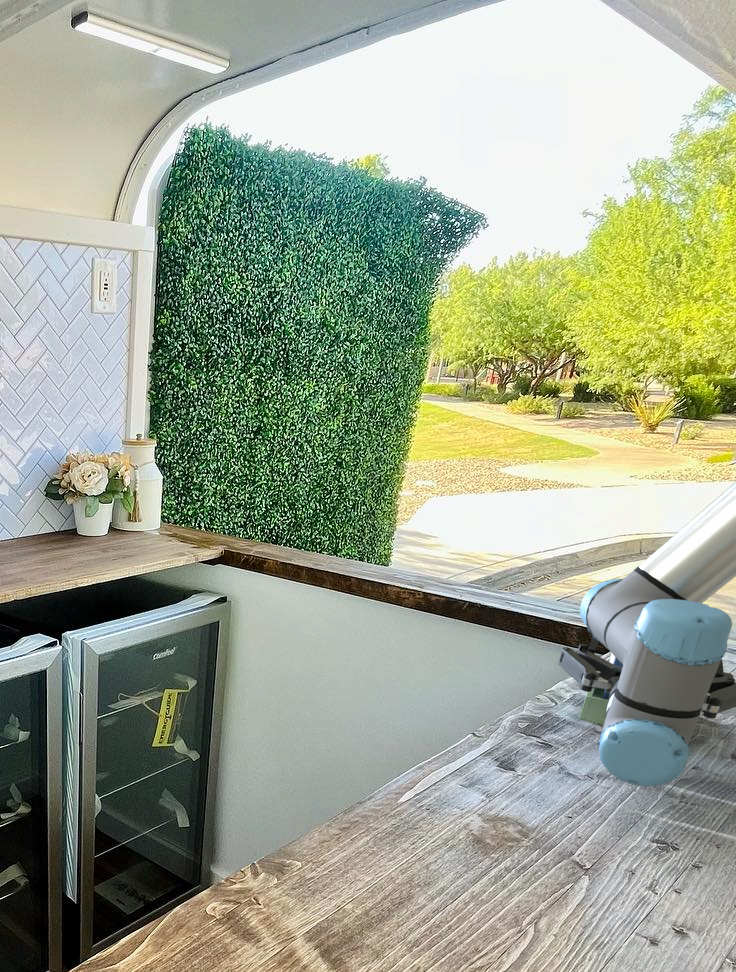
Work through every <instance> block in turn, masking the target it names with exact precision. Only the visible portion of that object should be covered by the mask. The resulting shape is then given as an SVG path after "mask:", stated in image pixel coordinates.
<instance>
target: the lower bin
mask: <svg viewBox="0 0 736 972" xmlns="http://www.w3.org/2000/svg"><path fill="white" fill-rule="evenodd" d="M604 690H605V689H602V688H597V687H596V689H592V691H590V692H586V694H585V698H584V702H583V704H582V708H581V711H580V714H579V717H578V718H579V720H582V721H588V722H591V723H595V724H599V725H603V726H604V722H605V716H606V710H607V706H608V701H609V700H607V699H603V698H602V696H603V693H604Z"/></svg>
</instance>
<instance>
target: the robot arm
mask: <svg viewBox="0 0 736 972" xmlns="http://www.w3.org/2000/svg"><path fill="white" fill-rule="evenodd" d="M734 578H736V481H735V482H734V483H732V484H731V485H730V486H729V487H728V488H727V489H726V490H724V491H723V492H722V493H721V494H720V495H719V496H717V497H716V498H715V499H714V500H713V501H712V502H710V503H709V504H708V505H707V506H706V507H705V508H703V509H702V510H701V511H700V512H698V514H696V515H695V516H694V517H693V518H692V519H691V520H690V521H688V522H687V523H686V524H685V525H684V526H683V527H681V529H679V530H678V531H677V532H676V533H675V534H674V535H673V536H671V537H670V538H669V539H668V540H667V541H665V542H664V543H663V544H662V545H661V546H660V547H658V548H657V550H655V551H654V552H652V554H651V555H649V556H648V557H647V558H646V559H645V560H643V561H642V562H641V563H640V564H639V565H638V566H637V567H635V568H634V569H633V570H632V571H631V572H630V573H628V574H627V575H626V576H625V577H624V578H613V579H608V580H604V581H602V582H600V583H597V584H596V585H594V586H593V587H591V588H590V589H589V590H588V591H587V592H586V593H585V595H584V596H583V598H582V600H581V603H580V605H579V606H580V607H579V614H580V617H581V620H582V622H583V624H584V625H585V626H586V628H587V631H588V632H589V633H590V634H591V635H592V638H591V641H590V645H589V644H587V643H586V644H585V643H580V644H579V645H578V648H577V650H576V651H575V650H574V649H573V648H571V647H566V646H565V647H562V649H561V652H560V655H559V658H558V662H557V665H558V666H559V667H560V668H562V669H563V670H564V671H565V672H566V673H567V674H568V675H569V676H570V677H571V678H573V680H575V681H576V682H577V683H578V684H579V688H580V690H581V691H583V692H585V693H587V692H590V691H592V689H596V687H597V688H602V689H606V691H607V692H608V693H609V694H610V696H609V701H608V706H607V710H606V716H605V722H604V725H603V726H602V729H601V730H602V731H601V733H600V736H599V738H598V742H597V746H598V750H599V751H598V752H599V759H600V761H601V763H602V765H603V767H604V768H605V769H606V770H607V772H608V773H610V774H611V775H612V776H613V777H615V778H616V779H618V780H620V781H621V782H625V783H627V784H630V785H632V786H638V787H657V786H662V785H665V784H668V783H671V782H673V781H674V780H675V779H677V778H678V777H679V776H681V774H682V773H683V772H684V770H685V768H686V766H687V764H688V759H689V758H690V755H691V750H690V749H689V747H690V743H691V739H692V737H693V735H694V731H695V729H696V726H697V725H698V721H699V720H700V719H699V718H700V716H701V713H702V716H703V717H704V718H707V719H716V717H717V716H718V714H719V713H722V712H725V711H728V710H732V709H734V708H736V679H735V678H734V674H732V673H731V672H726V671H724V663H723V658H724V657H725V655H726V653H727V648H728V641H729V637H730V634H731V630H732V627H733V620H732V617H731V616H730V615H729V614H728V613H727V612H725V611H724V610H722V609H720V608H717V607H713V606H710V605H709V604H705V602H706V601H707V600H708V599H709V598H711V597H712V596H713V595H714V594H716V593H717V592H718V591H719V590H721V589H722V588H723V587H724V586H726V585H727V584H728V583H730V582H731V581H732V580H733V579H734ZM599 643H601V644H602V645H603V646H604V647H605V648H606V649H607V650H608V651H609V652H610V654H611V653H612V654H613V655H614V656H615V657H616V658H617V659H618V660H619V661H620V662H621V663H622V664H623V666H616V665H614V664H612V663H610V661H609V660H607V659H605V658H602V657H601V656H599V655H597V654H595V653H596V650H597V646H598V644H599Z"/></svg>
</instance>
